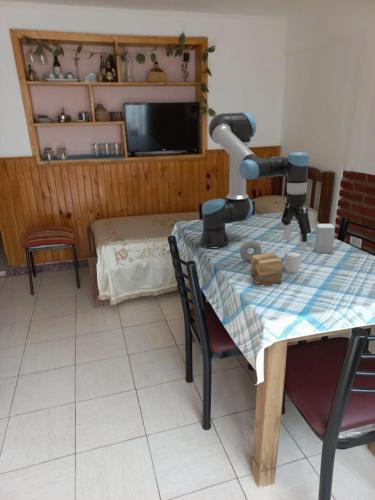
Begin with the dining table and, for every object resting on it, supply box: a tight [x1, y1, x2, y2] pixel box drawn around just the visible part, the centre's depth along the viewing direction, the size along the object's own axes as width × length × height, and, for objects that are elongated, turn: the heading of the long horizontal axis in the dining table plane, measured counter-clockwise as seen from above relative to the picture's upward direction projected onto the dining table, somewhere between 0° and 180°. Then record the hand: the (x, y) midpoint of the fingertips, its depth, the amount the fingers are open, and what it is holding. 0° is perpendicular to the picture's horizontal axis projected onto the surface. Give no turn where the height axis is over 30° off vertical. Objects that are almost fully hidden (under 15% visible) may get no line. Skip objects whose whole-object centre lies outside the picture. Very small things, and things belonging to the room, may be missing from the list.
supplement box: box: [314, 223, 336, 254], centre depth 167 cm, size 7×7×13 cm
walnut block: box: [250, 267, 283, 287], centre depth 139 cm, size 9×9×5 cm
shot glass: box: [284, 251, 303, 273], centre depth 148 cm, size 7×7×7 cm
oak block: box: [250, 252, 284, 275], centre depth 137 cm, size 9×9×5 cm
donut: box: [239, 239, 263, 262], centre depth 159 cm, size 10×4×10 cm, turn 93°
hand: (294, 244), depth 145 cm, fingers open, 13 cm apart
